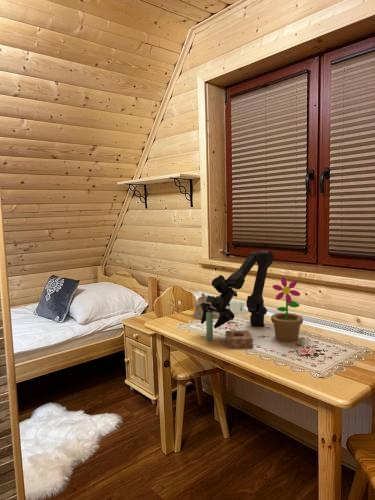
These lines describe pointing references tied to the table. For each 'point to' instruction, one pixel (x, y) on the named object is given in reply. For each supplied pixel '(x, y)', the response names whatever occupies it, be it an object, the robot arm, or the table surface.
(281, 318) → the flowerpot
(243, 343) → the hole block
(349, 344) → the table surface
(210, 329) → the peg
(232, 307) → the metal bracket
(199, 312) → the ceramic cottage
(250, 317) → the robot arm
